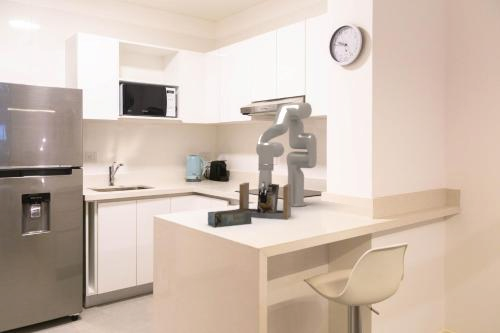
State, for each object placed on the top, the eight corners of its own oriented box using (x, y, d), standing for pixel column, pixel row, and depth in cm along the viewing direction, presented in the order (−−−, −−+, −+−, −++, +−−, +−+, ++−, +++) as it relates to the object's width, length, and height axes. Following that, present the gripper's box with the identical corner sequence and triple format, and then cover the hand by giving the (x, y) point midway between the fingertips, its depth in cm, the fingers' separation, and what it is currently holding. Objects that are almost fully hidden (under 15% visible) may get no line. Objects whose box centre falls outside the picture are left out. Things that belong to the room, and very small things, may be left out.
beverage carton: (206, 224, 186) (206, 210, 186) (244, 221, 196) (244, 207, 195) (214, 228, 179) (214, 213, 179) (252, 224, 189) (252, 209, 189)
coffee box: (256, 215, 206) (258, 183, 205) (259, 213, 212) (261, 182, 211) (274, 217, 203) (276, 185, 202) (277, 215, 209) (279, 184, 208)
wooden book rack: (245, 213, 216) (245, 182, 215) (290, 215, 210) (291, 184, 209) (239, 216, 206) (239, 184, 205) (287, 219, 199) (287, 186, 198)
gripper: (262, 166, 216) (262, 198, 217) (254, 168, 199) (254, 204, 200) (276, 166, 214) (276, 199, 215) (269, 169, 197) (269, 204, 198)
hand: (265, 201), depth 207 cm, fingers open, 9 cm apart
